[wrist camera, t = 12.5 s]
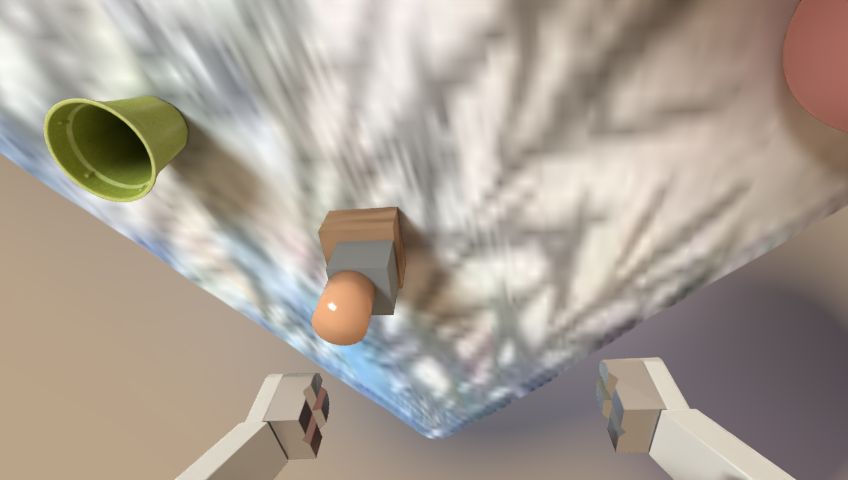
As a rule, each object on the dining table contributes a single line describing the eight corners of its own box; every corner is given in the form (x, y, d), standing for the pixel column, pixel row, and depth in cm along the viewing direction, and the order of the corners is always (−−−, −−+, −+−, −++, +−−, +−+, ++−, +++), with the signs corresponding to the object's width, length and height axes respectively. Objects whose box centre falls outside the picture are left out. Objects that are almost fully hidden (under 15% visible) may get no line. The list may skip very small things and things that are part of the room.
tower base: (329, 210, 48) (318, 232, 44) (397, 205, 47) (392, 227, 43) (343, 266, 52) (333, 291, 48) (405, 263, 51) (402, 288, 47)
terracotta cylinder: (355, 262, 39) (343, 295, 35) (385, 297, 41) (378, 332, 37) (316, 283, 41) (300, 317, 37) (347, 316, 43) (335, 352, 39)
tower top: (337, 241, 44) (325, 268, 40) (393, 240, 44) (387, 267, 39) (346, 286, 47) (336, 315, 43) (398, 285, 47) (393, 314, 43)
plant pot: (154, 178, 47) (99, 214, 39) (93, 98, 42) (18, 122, 35) (222, 151, 45) (177, 184, 37) (165, 64, 40) (101, 81, 33)
